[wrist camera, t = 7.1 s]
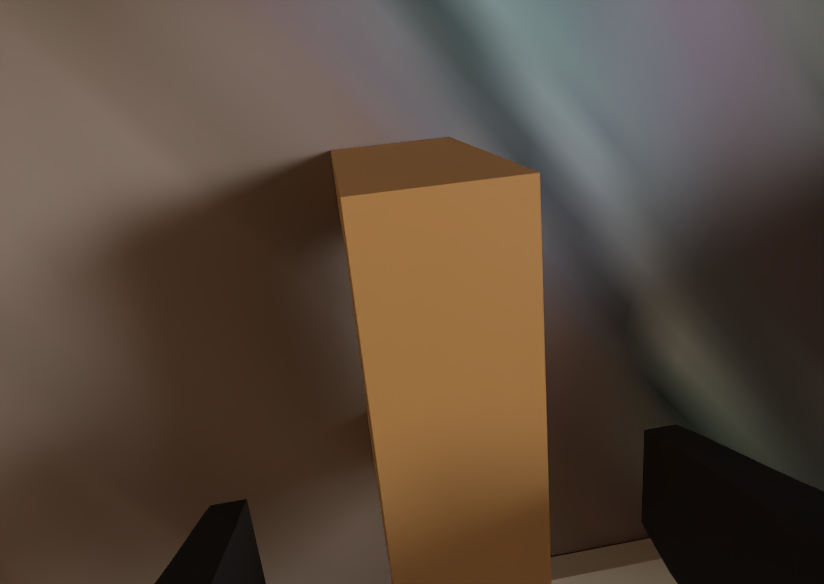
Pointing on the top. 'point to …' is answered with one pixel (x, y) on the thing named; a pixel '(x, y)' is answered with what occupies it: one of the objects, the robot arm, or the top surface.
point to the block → (451, 356)
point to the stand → (612, 565)
